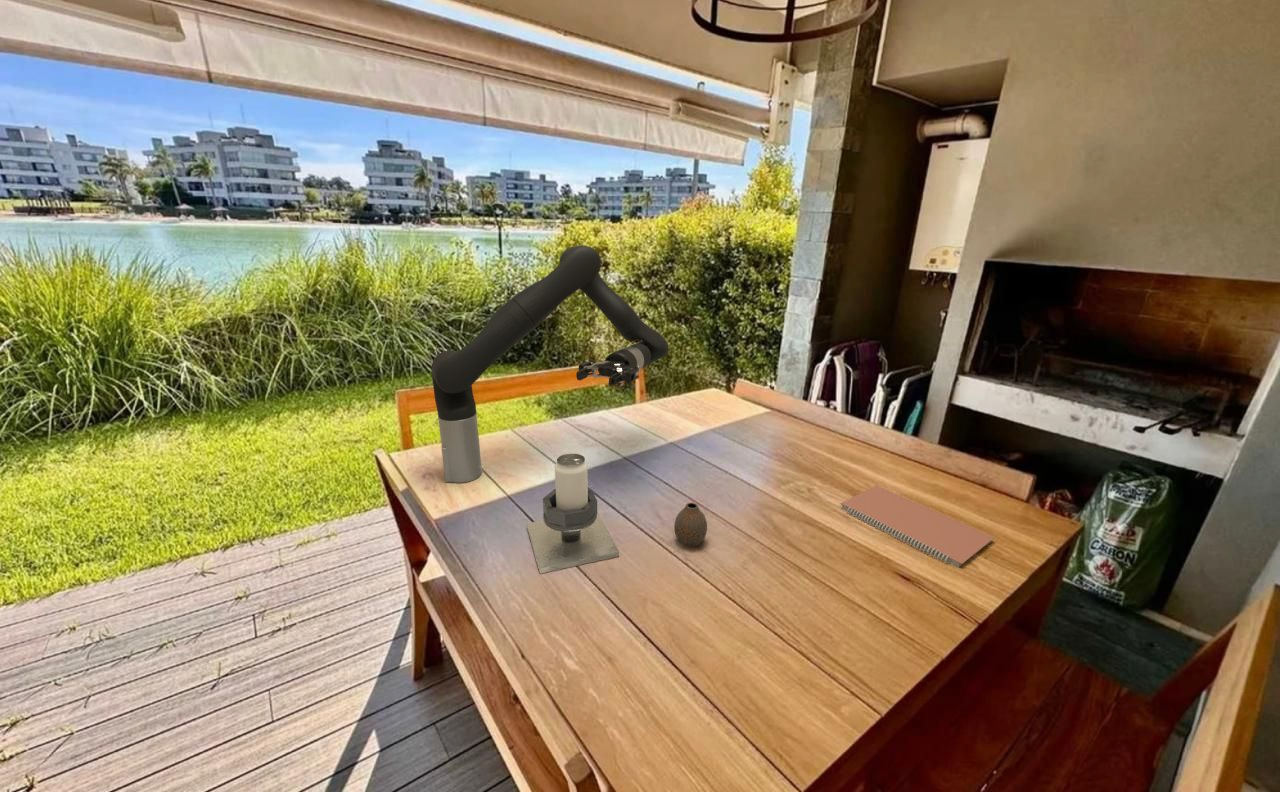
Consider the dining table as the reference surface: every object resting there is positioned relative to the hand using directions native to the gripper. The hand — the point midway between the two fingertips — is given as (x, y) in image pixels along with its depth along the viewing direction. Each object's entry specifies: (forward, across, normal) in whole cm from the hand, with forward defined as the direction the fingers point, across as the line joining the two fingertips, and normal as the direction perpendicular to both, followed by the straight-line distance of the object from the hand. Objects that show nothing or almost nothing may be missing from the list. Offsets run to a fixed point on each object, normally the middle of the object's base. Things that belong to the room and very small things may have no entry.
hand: (594, 379), depth 115 cm
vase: (+9, +28, +30) cm, 42 cm away
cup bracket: (+20, +6, +30) cm, 37 cm away
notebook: (-20, +72, +30) cm, 81 cm away
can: (+20, +6, +23) cm, 31 cm away
